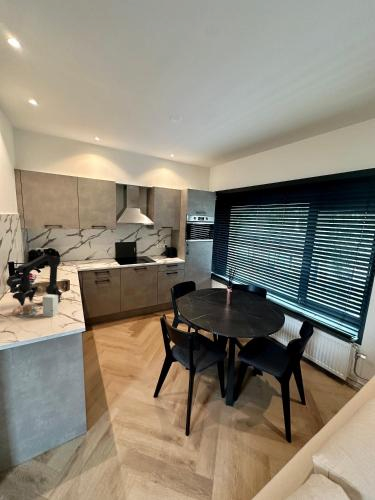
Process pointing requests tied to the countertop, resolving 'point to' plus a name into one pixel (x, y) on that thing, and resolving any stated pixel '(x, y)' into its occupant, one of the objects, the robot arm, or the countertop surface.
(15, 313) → the peach capsule shape
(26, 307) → the walnut block
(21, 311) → the peach rounded capsule
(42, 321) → the countertop surface
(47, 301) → the skincare box
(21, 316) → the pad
